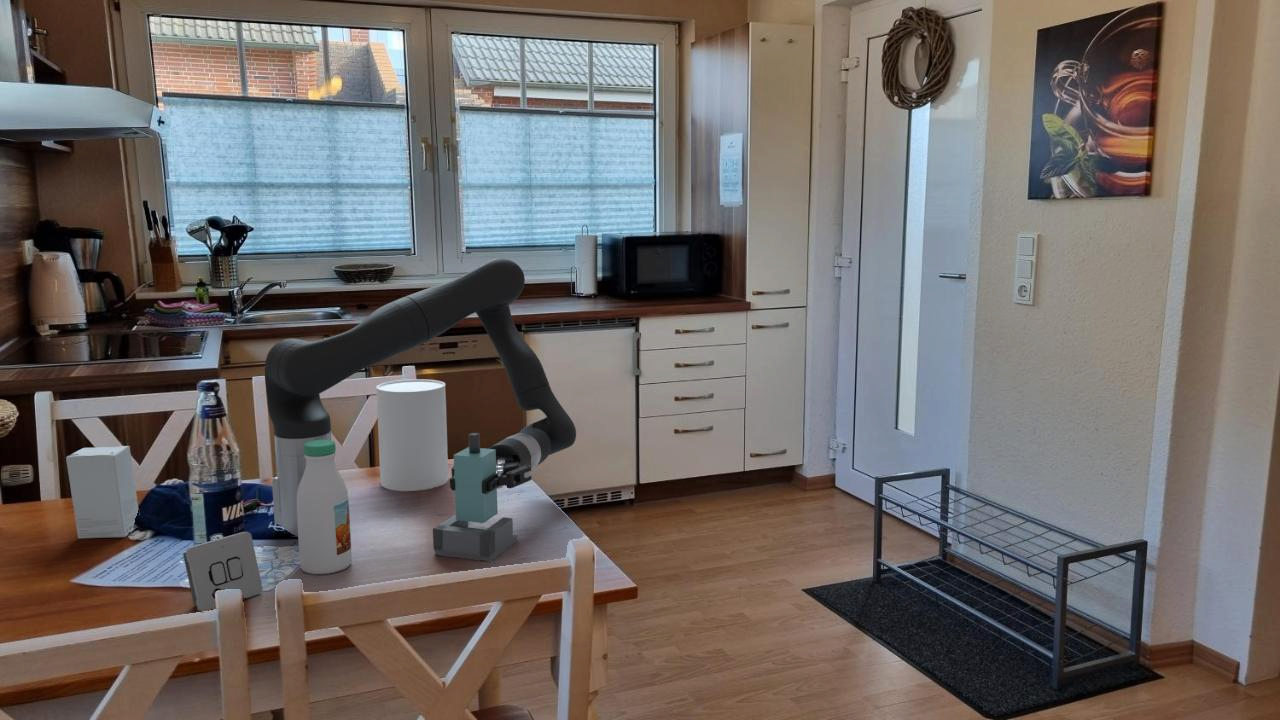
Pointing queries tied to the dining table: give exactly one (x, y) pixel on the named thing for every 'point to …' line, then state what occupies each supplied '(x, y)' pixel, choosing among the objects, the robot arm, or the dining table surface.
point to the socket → (473, 539)
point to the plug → (474, 482)
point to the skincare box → (103, 491)
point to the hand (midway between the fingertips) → (468, 486)
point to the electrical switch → (222, 568)
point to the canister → (412, 434)
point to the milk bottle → (323, 512)
